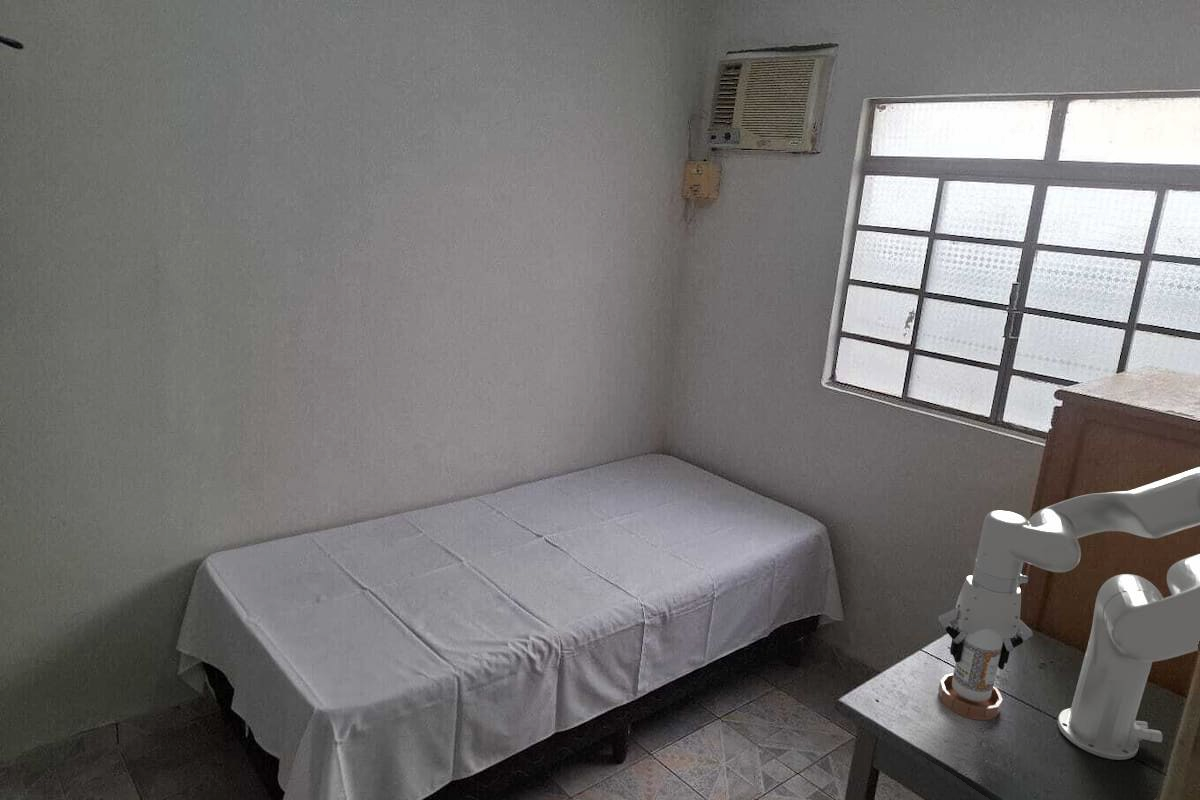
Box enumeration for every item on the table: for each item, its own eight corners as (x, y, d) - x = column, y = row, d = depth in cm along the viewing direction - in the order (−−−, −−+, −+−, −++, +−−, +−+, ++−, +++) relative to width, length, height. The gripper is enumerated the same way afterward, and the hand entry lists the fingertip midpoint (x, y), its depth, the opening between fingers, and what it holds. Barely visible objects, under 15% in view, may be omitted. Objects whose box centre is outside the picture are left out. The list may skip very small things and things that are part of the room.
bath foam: (976, 708, 147) (997, 613, 141) (943, 687, 152) (962, 595, 146) (998, 695, 150) (1019, 603, 144) (964, 675, 156) (984, 585, 150)
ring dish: (991, 689, 156) (993, 677, 155) (1005, 724, 146) (1008, 713, 145) (934, 679, 158) (936, 668, 157) (944, 714, 148) (947, 703, 147)
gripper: (1040, 574, 146) (1021, 657, 151) (941, 561, 149) (925, 642, 154) (1054, 595, 139) (1032, 681, 144) (949, 581, 142) (932, 665, 147)
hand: (977, 660), depth 149 cm, fingers closed on bath foam, 7 cm apart
